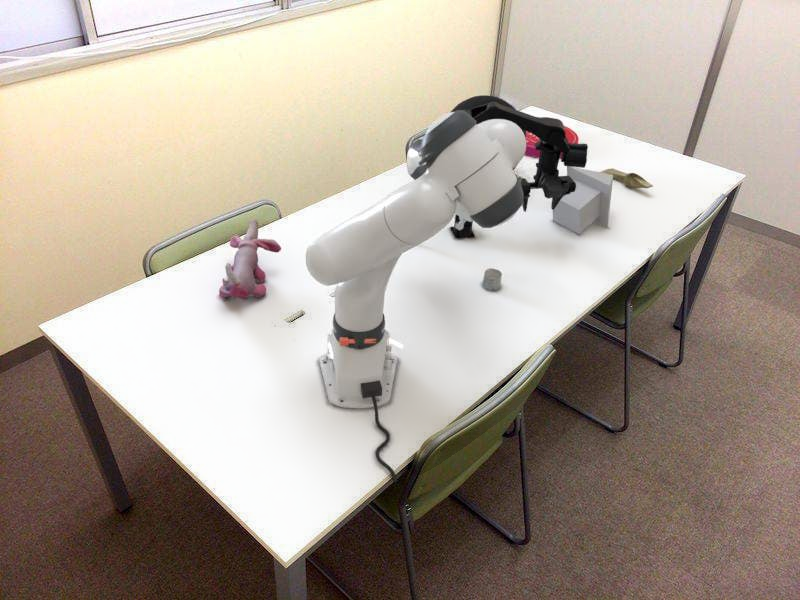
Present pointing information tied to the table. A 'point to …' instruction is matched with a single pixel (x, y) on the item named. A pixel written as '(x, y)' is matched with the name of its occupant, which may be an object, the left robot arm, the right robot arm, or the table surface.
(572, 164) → the right robot arm
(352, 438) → the table surface
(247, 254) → the toy
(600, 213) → the grey flanged block
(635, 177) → the tool
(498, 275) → the tin
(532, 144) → the sign
